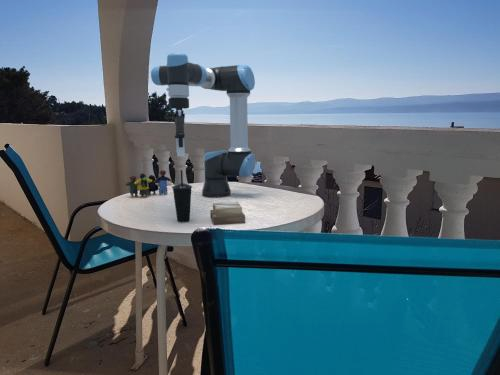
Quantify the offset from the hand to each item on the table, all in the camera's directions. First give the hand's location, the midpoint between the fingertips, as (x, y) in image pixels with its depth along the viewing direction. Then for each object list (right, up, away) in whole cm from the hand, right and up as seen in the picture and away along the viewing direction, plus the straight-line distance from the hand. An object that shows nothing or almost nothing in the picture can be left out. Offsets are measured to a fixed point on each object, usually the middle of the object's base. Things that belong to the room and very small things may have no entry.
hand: (180, 154), depth 141 cm
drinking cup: (0, -26, +5) cm, 26 cm away
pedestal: (+17, -25, +5) cm, 31 cm away
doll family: (-26, -17, +53) cm, 61 cm away
